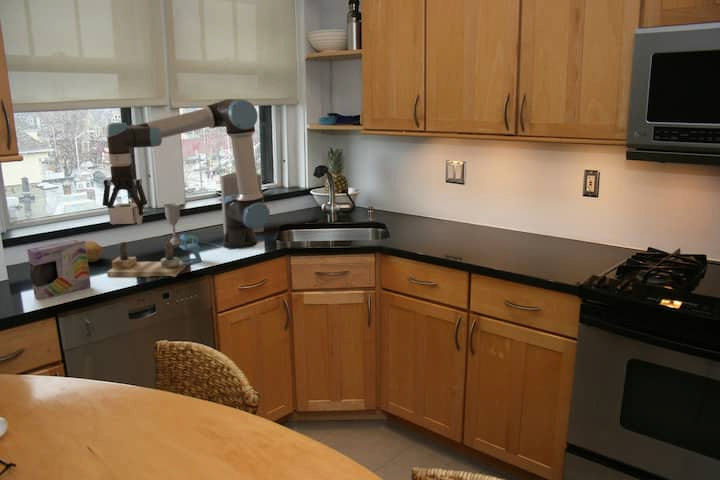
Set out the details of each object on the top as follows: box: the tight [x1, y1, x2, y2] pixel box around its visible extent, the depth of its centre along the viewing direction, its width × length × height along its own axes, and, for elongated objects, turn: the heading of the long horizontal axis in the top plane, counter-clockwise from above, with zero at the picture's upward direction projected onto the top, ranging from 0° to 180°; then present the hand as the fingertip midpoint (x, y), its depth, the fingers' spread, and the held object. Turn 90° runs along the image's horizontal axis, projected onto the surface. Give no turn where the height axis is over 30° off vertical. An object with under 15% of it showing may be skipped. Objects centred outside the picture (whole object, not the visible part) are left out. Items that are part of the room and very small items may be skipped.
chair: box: [178, 233, 203, 266], centre depth 255 cm, size 8×8×12 cm
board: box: [106, 241, 187, 278], centre depth 242 cm, size 26×14×12 cm, turn 88°
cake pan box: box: [27, 238, 92, 301], centre depth 217 cm, size 19×5×18 cm, turn 138°
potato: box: [85, 240, 104, 263], centre depth 258 cm, size 10×14×8 cm
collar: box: [108, 203, 144, 225], centre depth 239 cm, size 9×9×6 cm
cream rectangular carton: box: [220, 172, 265, 235], centre depth 310 cm, size 19×15×28 cm
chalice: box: [163, 202, 181, 246], centre depth 286 cm, size 7×7×18 cm
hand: (127, 223), depth 240 cm, fingers closed on collar, 9 cm apart
